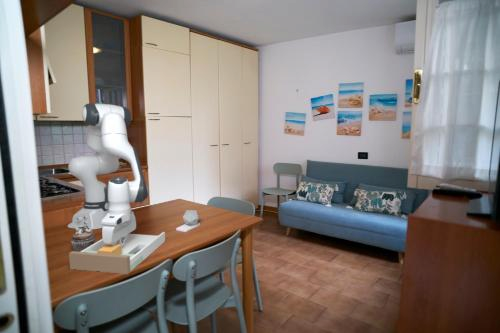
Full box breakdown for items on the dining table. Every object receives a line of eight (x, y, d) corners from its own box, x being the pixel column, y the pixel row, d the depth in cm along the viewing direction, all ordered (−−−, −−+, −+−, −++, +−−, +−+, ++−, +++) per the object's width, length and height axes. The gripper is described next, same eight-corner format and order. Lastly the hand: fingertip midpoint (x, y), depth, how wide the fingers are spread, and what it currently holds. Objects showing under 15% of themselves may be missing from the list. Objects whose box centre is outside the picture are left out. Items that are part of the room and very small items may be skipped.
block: (97, 260, 125) (97, 250, 124) (108, 252, 132) (108, 243, 132) (111, 261, 124) (111, 251, 124) (122, 253, 131) (121, 244, 131)
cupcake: (69, 248, 142) (67, 227, 141) (91, 243, 149) (90, 222, 148) (75, 255, 136) (74, 232, 134) (99, 248, 142) (97, 227, 141)
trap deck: (70, 269, 123) (68, 253, 122) (119, 237, 156) (118, 225, 155) (127, 274, 119) (126, 257, 118) (165, 241, 152) (164, 228, 151)
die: (191, 229, 171) (201, 213, 173) (177, 220, 172) (188, 205, 174) (193, 230, 179) (203, 214, 181) (180, 221, 180) (190, 206, 182)
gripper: (126, 208, 146) (127, 237, 148) (98, 222, 126) (100, 255, 128) (139, 209, 145) (140, 238, 147) (113, 223, 125) (114, 256, 127)
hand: (121, 246), depth 137 cm, fingers closed
